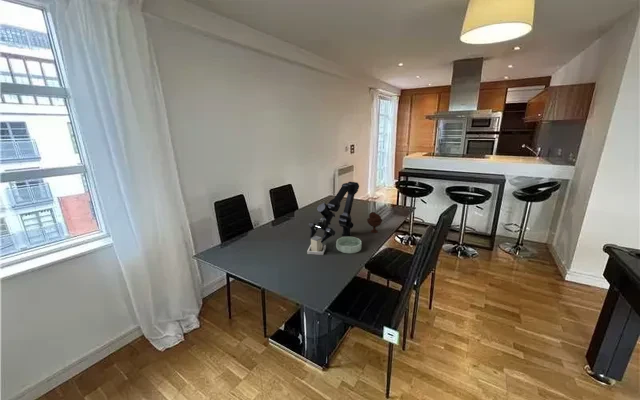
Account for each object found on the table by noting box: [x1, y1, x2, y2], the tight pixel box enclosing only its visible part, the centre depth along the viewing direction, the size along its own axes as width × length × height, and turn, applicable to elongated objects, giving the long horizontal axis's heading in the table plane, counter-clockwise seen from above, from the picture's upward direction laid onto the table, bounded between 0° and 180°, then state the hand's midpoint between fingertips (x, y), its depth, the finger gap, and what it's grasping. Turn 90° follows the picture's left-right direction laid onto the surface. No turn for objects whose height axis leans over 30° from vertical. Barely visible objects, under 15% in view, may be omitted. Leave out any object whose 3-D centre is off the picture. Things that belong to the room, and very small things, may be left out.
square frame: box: [306, 244, 327, 256], centre depth 168 cm, size 10×10×2 cm
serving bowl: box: [335, 236, 362, 254], centre depth 171 cm, size 16×16×4 cm
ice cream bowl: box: [366, 211, 383, 234], centre depth 194 cm, size 11×11×15 cm
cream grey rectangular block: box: [310, 235, 323, 252], centre depth 167 cm, size 5×5×9 cm
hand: (315, 240), depth 166 cm, fingers open, 9 cm apart
